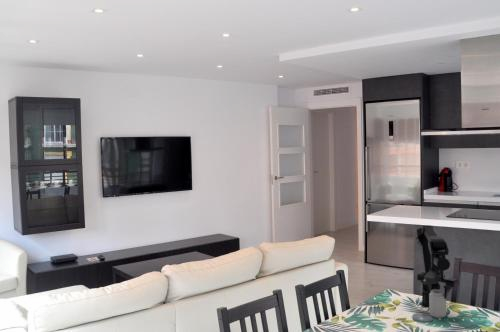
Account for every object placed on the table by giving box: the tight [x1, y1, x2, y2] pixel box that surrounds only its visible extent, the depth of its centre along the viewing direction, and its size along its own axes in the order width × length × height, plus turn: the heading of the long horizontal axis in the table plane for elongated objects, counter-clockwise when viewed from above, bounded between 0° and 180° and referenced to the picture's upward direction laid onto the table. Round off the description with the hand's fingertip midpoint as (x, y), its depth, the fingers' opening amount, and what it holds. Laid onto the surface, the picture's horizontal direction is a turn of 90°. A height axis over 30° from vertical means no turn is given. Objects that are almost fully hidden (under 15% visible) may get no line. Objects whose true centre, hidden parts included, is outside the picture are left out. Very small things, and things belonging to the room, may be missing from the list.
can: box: [428, 289, 447, 319], centre depth 231 cm, size 8×8×12 cm
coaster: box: [411, 312, 434, 324], centre depth 228 cm, size 9×9×1 cm
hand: (437, 297), depth 231 cm, fingers closed on can, 7 cm apart
